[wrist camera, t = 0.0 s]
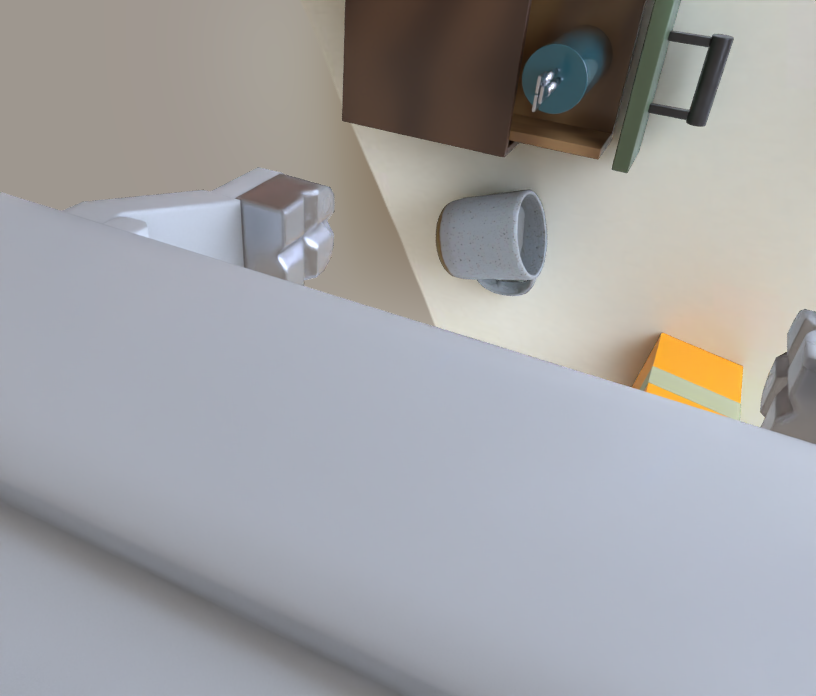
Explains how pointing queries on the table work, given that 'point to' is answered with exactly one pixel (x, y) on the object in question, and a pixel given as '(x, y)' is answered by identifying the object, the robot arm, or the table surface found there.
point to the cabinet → (435, 69)
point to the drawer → (614, 77)
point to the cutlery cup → (566, 69)
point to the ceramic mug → (494, 240)
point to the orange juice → (692, 377)
